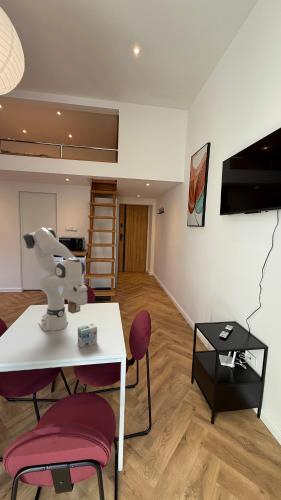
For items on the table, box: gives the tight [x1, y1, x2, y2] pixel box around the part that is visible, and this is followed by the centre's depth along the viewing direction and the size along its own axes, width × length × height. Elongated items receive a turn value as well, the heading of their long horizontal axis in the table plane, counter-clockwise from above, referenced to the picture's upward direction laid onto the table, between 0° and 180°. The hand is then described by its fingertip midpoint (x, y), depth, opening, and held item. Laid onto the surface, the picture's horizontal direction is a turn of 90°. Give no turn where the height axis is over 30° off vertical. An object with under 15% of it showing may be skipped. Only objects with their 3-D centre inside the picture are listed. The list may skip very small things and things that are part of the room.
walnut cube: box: [67, 302, 81, 314], centre depth 129 cm, size 5×5×5 cm
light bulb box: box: [77, 323, 98, 348], centre depth 138 cm, size 11×7×11 cm, turn 126°
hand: (74, 308), depth 129 cm, fingers closed on walnut cube, 5 cm apart
